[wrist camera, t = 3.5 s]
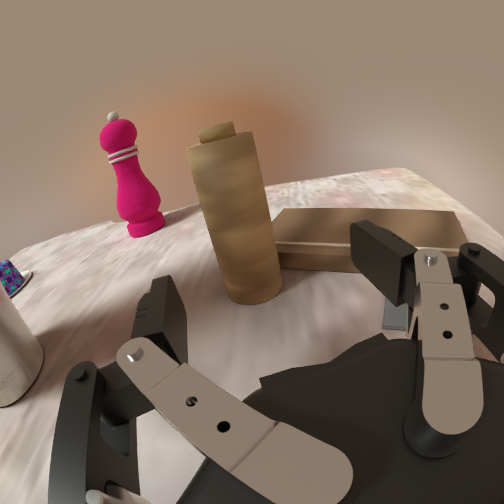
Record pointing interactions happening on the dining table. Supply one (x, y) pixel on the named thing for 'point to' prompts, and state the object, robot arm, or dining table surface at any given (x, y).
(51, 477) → the robot arm
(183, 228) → the dining table surface
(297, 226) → the walnut board
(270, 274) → the tan tall cylinder
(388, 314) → the grey flat slab
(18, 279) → the blue patterned hat
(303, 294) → the dining table surface
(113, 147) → the pepper mill
